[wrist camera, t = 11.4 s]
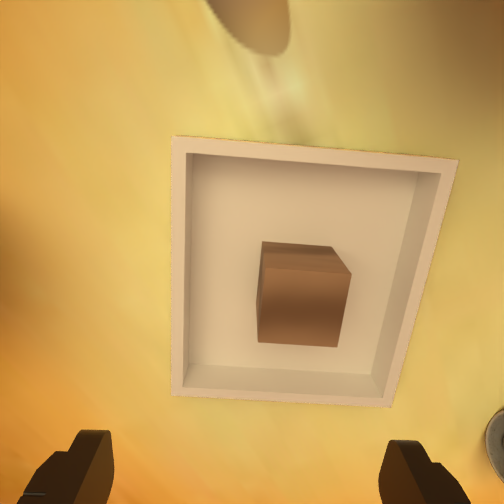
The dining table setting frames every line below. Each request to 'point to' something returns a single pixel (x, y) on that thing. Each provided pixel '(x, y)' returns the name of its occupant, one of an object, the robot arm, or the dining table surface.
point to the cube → (301, 294)
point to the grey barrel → (496, 443)
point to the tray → (297, 232)
